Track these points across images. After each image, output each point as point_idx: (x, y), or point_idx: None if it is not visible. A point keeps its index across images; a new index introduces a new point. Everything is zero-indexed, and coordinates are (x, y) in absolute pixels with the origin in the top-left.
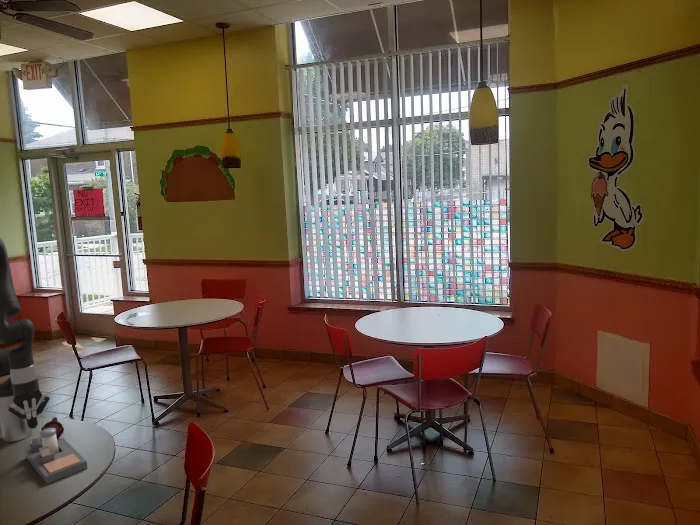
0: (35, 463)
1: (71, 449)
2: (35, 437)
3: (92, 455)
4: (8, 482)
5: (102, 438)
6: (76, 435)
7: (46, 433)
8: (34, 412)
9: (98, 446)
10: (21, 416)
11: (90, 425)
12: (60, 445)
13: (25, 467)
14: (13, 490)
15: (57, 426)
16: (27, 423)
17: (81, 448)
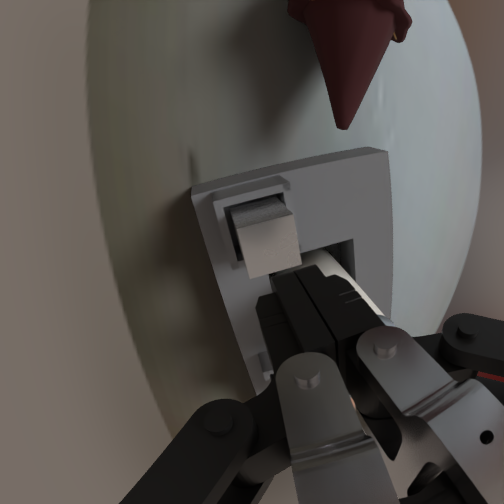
0: (246, 362)
1: (382, 311)
2: (276, 256)
3: (409, 318)
4: (152, 370)
5: (469, 200)
6: (415, 79)
7: (350, 396)
8: (399, 436)
9: (443, 261)
10: (240, 489)
11: (457, 29)
12: (362, 241)
13: (194, 290)
14: (181, 413)
15: (391, 31)
16: (266, 347)
17: (407, 241)
